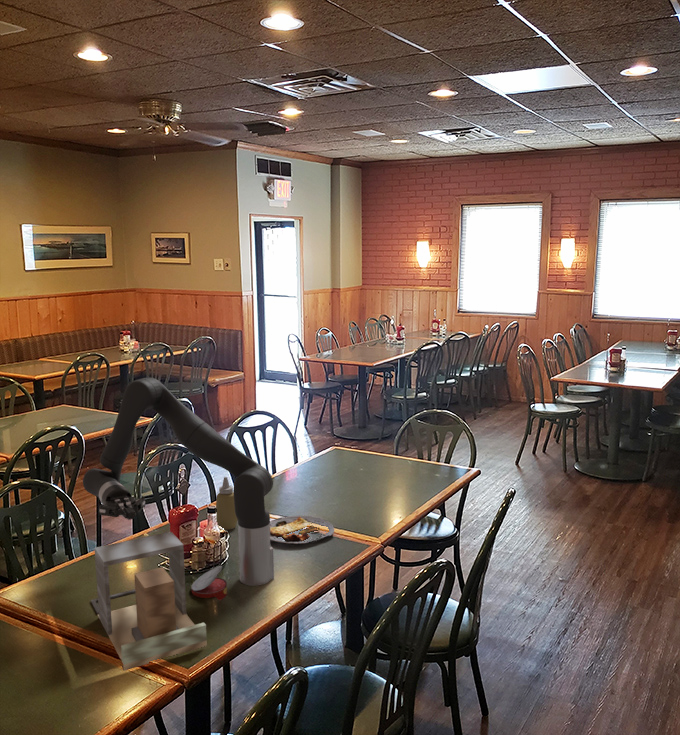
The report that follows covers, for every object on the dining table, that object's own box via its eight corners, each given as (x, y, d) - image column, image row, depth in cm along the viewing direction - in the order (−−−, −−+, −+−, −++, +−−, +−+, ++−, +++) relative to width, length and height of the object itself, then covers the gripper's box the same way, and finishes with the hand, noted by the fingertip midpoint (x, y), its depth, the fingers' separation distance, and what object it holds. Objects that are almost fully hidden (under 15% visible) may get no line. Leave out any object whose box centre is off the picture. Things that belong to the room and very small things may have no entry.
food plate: (286, 554, 228) (286, 543, 227) (247, 533, 245) (246, 523, 245) (346, 536, 243) (347, 526, 243) (305, 517, 261) (305, 508, 261)
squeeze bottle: (242, 523, 253) (241, 474, 250) (233, 532, 246) (231, 482, 243) (221, 521, 255) (219, 473, 252) (211, 530, 248) (209, 480, 245)
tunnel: (163, 589, 205) (160, 519, 202) (206, 646, 175) (203, 566, 172) (91, 607, 195) (86, 534, 192) (124, 670, 165) (118, 586, 162)
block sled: (171, 623, 183) (168, 565, 180) (182, 639, 175) (179, 579, 173) (131, 633, 178) (128, 575, 175) (141, 651, 170) (138, 589, 168)
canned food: (214, 618, 198) (203, 596, 192) (189, 604, 203) (177, 583, 198) (240, 587, 204) (230, 565, 199) (215, 574, 210) (204, 552, 204)
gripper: (89, 488, 200) (104, 507, 186) (137, 480, 207) (155, 497, 192) (91, 514, 202) (106, 534, 187) (138, 505, 208) (156, 524, 194)
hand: (131, 515), depth 190 cm, fingers closed
